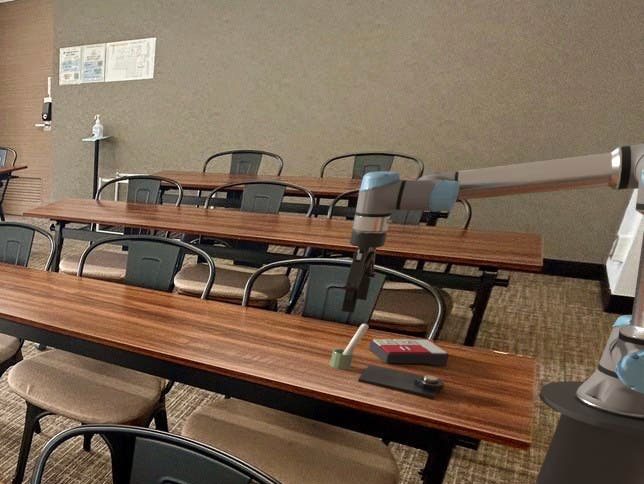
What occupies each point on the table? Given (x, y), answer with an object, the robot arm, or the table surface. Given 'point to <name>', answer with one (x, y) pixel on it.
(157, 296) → the table surface
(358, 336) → the stylus
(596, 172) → the robot arm
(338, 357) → the pen cup
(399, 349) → the calculator
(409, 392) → the tablet
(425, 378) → the button
